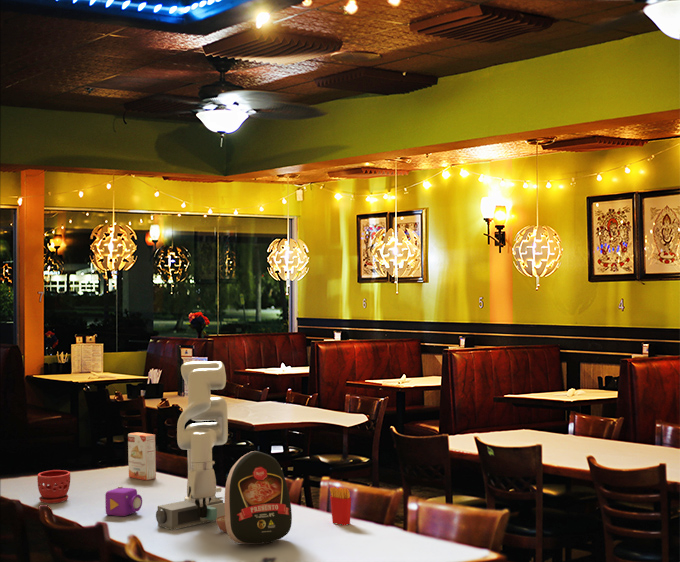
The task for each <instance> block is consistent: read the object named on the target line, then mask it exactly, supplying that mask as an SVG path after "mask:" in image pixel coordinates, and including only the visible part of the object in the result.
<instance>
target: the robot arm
mask: <svg viewBox="0 0 680 562" xmlns="http://www.w3.org/2000/svg"><path fill="white" fill-rule="evenodd" d="M180 372H181V376H182V378H183V380H184V383H185V385H186V387H187V406H186V407H185V409H184V410H183V411H182V412H181V414H180V415H179V418H178V420H177V426H176V427H177V428H176V431H177V433H176V440H177V445H178V448H179V449H181V450H183V451H184V450H187V483H186V496H185V497H184V501H186V500H189V502H191V503H195V504H196V505H197V506H198V516H199V517H201V518H204V517H207V506H208V504H209V502H210V501H211V500H212V499H214V498H216V495H217V493H221V492H222V490H223V489H222V487H221V486H218V487H217V479H216V474H215V470H214V468H213V466H215V464H216V463H215V462H216V461H215V460H213V448H214V446H223V445H224V444H226V443H227V442H228V437H229V436H228V435H229V433H228V432H229V429H228V428H229V427H228V424H229V421H228V420H229V419H228V404H227V401H226V399H225V398H224V397H220V396H214V397H213V396H211V390H212V391H214V390H217V391H218V390H224V388H225V387H226V383H227V374H226V368H225V364H224V363H223V362H222V361H220V360H219V361H217V360H213V361H204V360H203V361H188V362H184V363H183V364H181V366H180ZM190 420H191V421H193V422H194V421H195V423H190V424H188V425H187V426H186V428H185V425H186V423H187V422H188V421H190ZM204 421H205V422H204ZM206 421H207V422H206ZM209 421H211V422H209ZM213 421H214V422H213Z"/></svg>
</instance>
